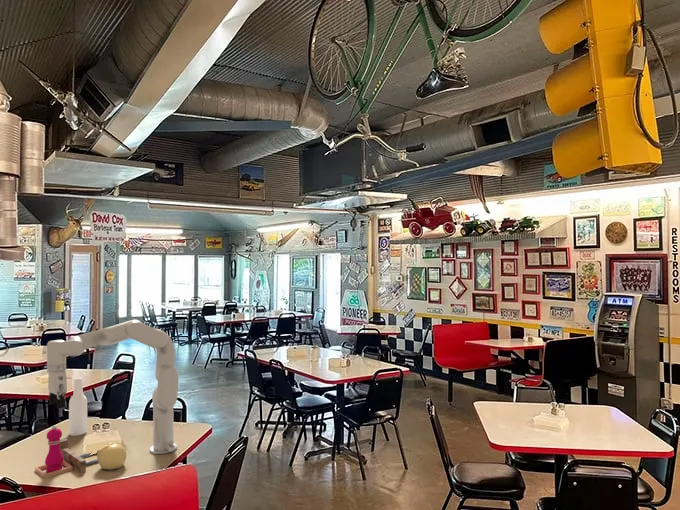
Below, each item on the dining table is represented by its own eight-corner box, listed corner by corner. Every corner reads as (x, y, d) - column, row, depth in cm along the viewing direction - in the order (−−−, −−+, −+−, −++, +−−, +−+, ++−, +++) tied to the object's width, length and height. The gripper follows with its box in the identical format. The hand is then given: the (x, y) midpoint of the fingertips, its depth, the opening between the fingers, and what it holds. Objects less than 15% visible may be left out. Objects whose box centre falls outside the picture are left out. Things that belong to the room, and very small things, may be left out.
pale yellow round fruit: (118, 459, 235) (118, 436, 235) (131, 466, 227) (131, 442, 228) (93, 467, 226) (93, 443, 226) (106, 474, 219) (106, 450, 219)
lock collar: (72, 469, 224) (72, 466, 224) (44, 478, 215) (44, 474, 215) (63, 462, 232) (63, 459, 232) (35, 470, 223) (35, 467, 223)
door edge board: (88, 470, 223) (88, 452, 223) (78, 473, 220) (78, 455, 220) (64, 454, 242) (64, 438, 242) (55, 457, 239) (55, 440, 239)
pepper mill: (43, 474, 219) (43, 428, 219) (47, 468, 226) (47, 423, 226) (61, 472, 221) (61, 427, 221) (65, 466, 228) (65, 422, 228)
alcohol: (69, 432, 274) (69, 377, 274) (87, 429, 277) (87, 375, 278) (68, 437, 266) (68, 380, 266) (86, 434, 269) (86, 379, 270)
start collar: (108, 459, 236) (108, 456, 236) (83, 466, 227) (83, 463, 227) (98, 452, 243) (98, 449, 243) (73, 460, 235) (73, 456, 235)
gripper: (73, 369, 222) (73, 407, 222) (58, 363, 234) (58, 400, 234) (54, 372, 217) (55, 411, 217) (40, 366, 228) (41, 404, 228)
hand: (57, 405), depth 225 cm, fingers open, 9 cm apart
